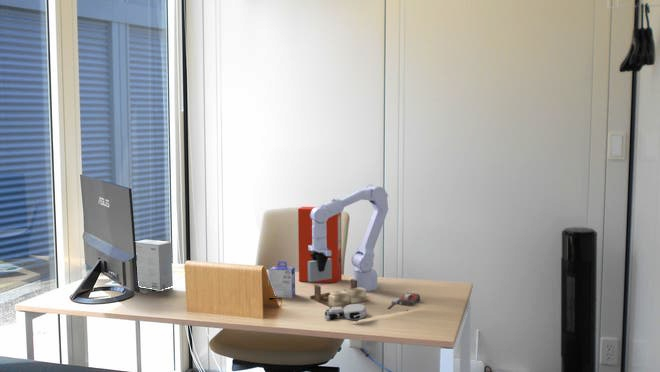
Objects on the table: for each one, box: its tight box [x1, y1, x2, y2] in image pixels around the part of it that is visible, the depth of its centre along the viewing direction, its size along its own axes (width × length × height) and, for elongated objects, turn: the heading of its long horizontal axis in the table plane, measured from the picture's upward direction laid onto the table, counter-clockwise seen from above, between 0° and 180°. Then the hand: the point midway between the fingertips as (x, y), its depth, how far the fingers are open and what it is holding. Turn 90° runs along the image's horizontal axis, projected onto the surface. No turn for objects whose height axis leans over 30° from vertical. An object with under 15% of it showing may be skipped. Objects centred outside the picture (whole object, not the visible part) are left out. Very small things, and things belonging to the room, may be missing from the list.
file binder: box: [297, 206, 343, 284], centre depth 311 cm, size 8×17×32 cm, turn 76°
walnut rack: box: [309, 278, 372, 308], centre depth 278 cm, size 18×16×7 cm
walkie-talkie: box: [387, 292, 421, 310], centre depth 272 cm, size 9×4×20 cm
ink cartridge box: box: [268, 260, 296, 299], centre depth 284 cm, size 10×6×14 cm, turn 78°
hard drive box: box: [135, 239, 174, 290], centre depth 301 cm, size 16×8×20 cm, turn 58°
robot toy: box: [324, 302, 367, 322], centre depth 257 cm, size 12×4×15 cm
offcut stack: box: [328, 287, 367, 307], centre depth 274 cm, size 15×4×4 cm, turn 122°
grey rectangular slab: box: [308, 258, 332, 283], centre depth 286 cm, size 10×2×8 cm, turn 122°
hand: (319, 270), depth 286 cm, fingers closed on grey rectangular slab, 2 cm apart
